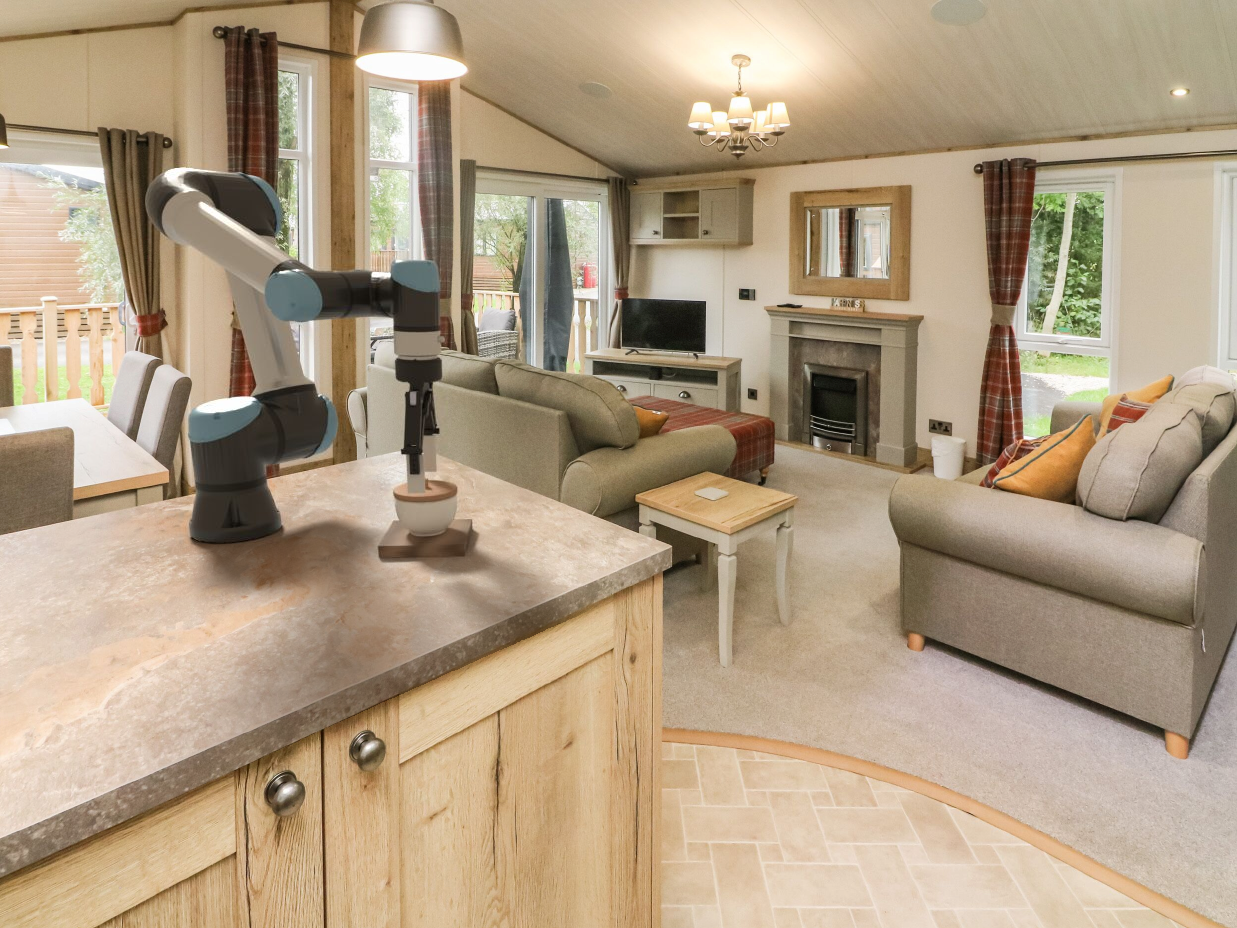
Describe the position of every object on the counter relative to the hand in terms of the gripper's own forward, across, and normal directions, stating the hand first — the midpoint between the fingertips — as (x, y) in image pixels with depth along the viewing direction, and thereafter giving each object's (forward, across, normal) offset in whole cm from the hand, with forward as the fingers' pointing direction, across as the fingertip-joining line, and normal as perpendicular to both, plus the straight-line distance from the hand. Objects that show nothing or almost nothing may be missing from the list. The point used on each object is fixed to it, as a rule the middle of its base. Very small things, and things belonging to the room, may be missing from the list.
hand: (422, 481), depth 142 cm
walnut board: (+11, 0, 0) cm, 11 cm away
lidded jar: (+9, 0, 0) cm, 9 cm away
